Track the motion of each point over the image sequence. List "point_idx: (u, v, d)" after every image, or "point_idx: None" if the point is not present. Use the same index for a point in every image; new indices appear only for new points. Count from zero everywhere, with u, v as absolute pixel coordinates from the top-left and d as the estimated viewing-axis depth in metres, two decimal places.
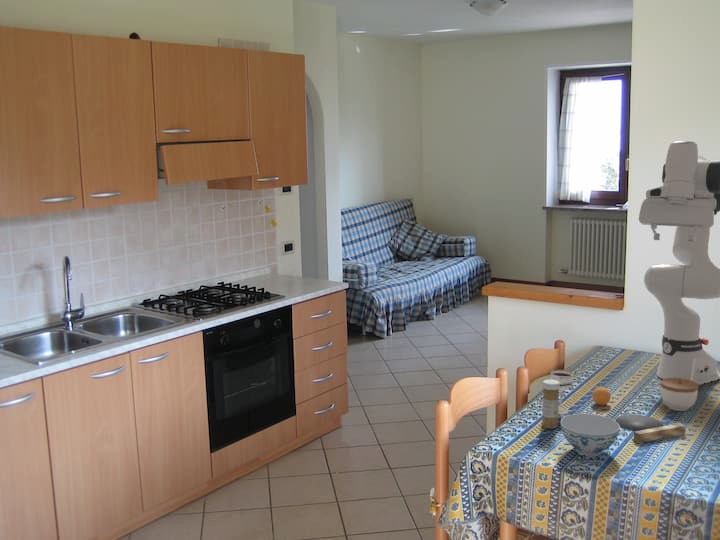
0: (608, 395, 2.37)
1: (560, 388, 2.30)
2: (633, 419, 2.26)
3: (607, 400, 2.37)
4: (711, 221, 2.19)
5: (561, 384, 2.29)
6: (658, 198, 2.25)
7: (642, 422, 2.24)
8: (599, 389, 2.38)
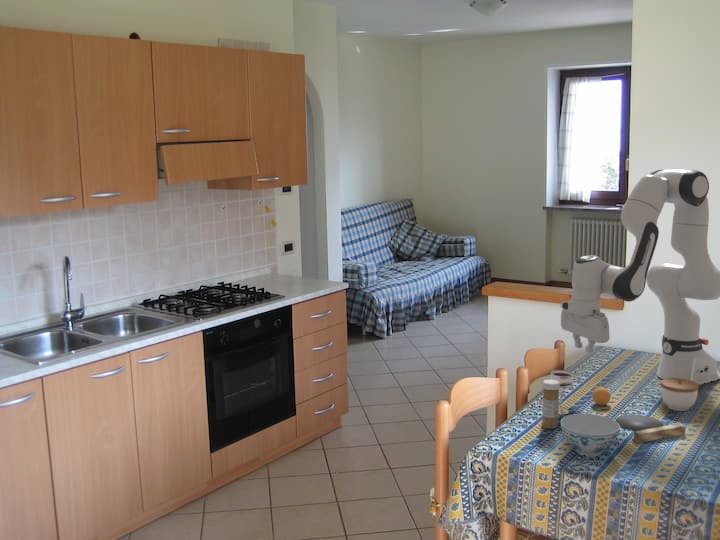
0: (608, 395, 2.37)
1: (560, 388, 2.30)
2: (633, 419, 2.26)
3: (607, 400, 2.37)
4: (599, 340, 2.35)
5: (561, 384, 2.29)
6: (568, 311, 2.47)
7: (642, 422, 2.24)
8: (599, 389, 2.38)
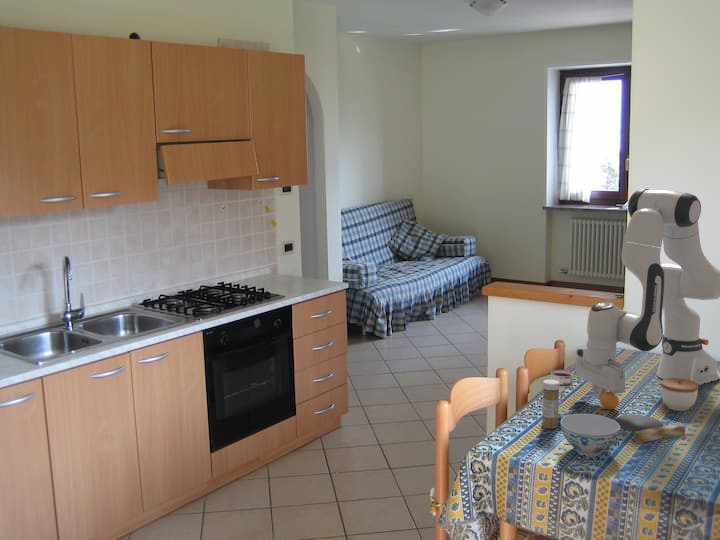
0: (615, 407, 2.34)
1: (560, 388, 2.30)
2: (633, 419, 2.26)
3: None
4: (615, 390, 2.29)
5: (561, 384, 2.29)
6: (583, 358, 2.41)
7: (642, 422, 2.24)
8: (611, 401, 2.32)
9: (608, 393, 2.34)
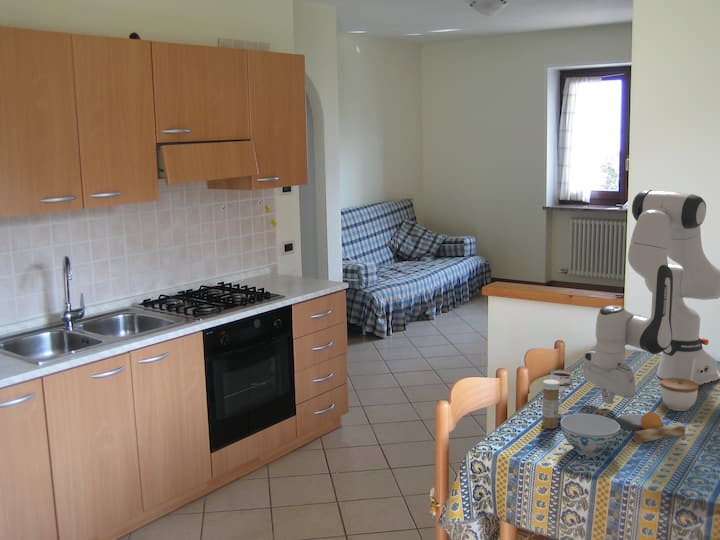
0: None
1: (560, 388, 2.30)
2: (633, 419, 2.26)
3: None
4: (625, 395, 2.26)
5: (561, 384, 2.29)
6: (591, 362, 2.38)
7: None
8: None
9: (654, 420, 2.15)
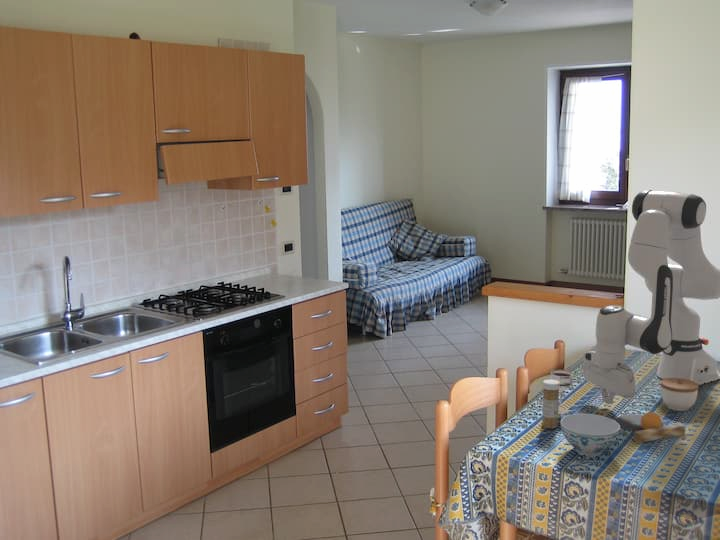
0: None
1: (560, 388, 2.30)
2: (633, 419, 2.26)
3: None
4: (625, 395, 2.26)
5: (561, 384, 2.29)
6: (591, 362, 2.38)
7: None
8: None
9: (654, 420, 2.15)
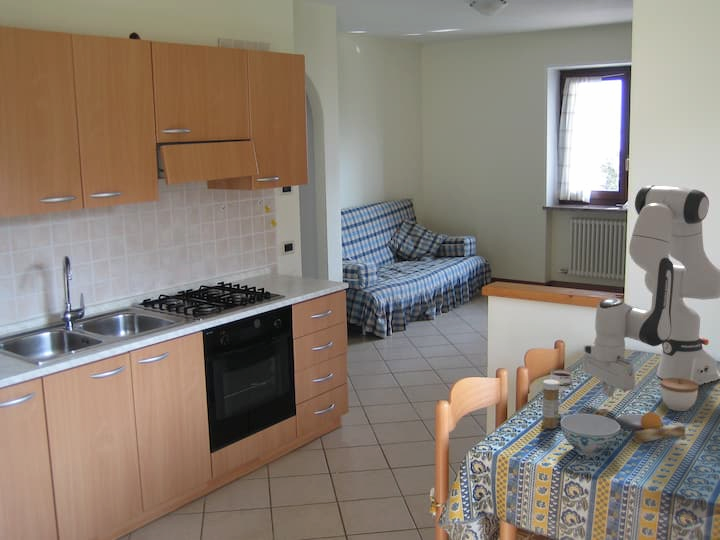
0: None
1: (560, 388, 2.30)
2: (633, 419, 2.26)
3: None
4: (624, 388, 2.26)
5: (561, 384, 2.29)
6: (591, 355, 2.38)
7: None
8: None
9: (654, 420, 2.15)
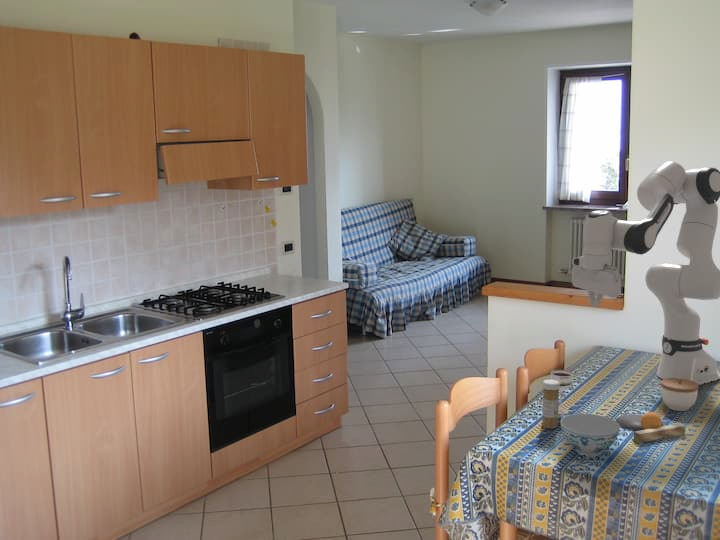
0: None
1: (560, 388, 2.30)
2: (633, 419, 2.26)
3: None
4: (611, 293, 2.35)
5: (561, 384, 2.29)
6: (579, 267, 2.47)
7: None
8: None
9: (654, 420, 2.15)
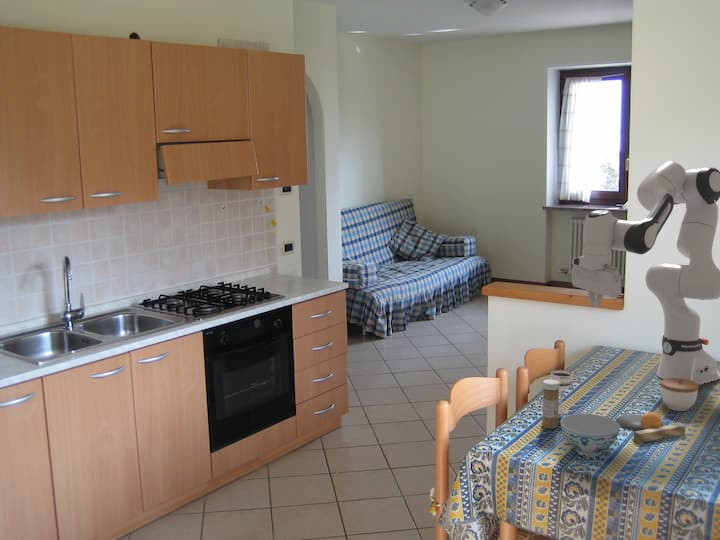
0: None
1: (560, 388, 2.30)
2: (633, 419, 2.26)
3: None
4: (611, 293, 2.35)
5: (561, 384, 2.29)
6: (579, 267, 2.47)
7: None
8: None
9: (654, 420, 2.15)
